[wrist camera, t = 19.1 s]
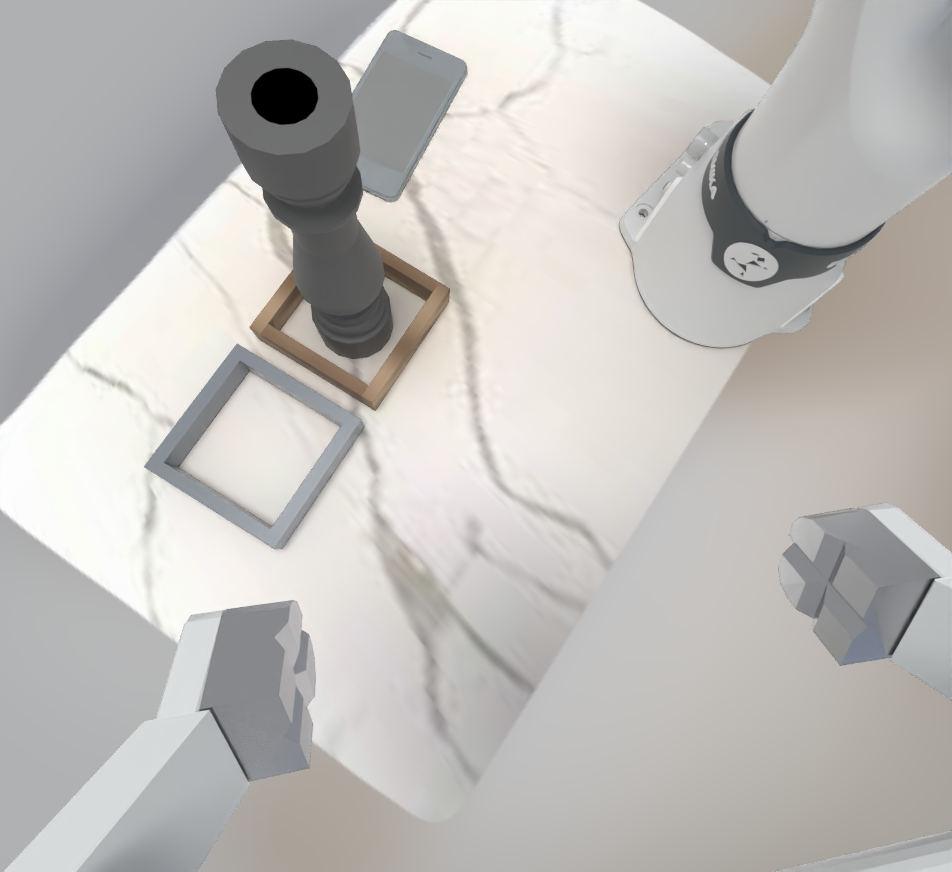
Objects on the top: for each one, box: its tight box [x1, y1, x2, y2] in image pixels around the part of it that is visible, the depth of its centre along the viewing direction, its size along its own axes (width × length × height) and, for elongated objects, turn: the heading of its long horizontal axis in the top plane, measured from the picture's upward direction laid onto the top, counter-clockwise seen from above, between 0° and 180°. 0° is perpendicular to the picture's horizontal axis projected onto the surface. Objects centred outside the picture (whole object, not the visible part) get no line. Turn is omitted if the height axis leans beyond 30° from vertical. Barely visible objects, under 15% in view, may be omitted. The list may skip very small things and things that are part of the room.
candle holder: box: [216, 40, 393, 359], centre depth 37 cm, size 6×6×25 cm
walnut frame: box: [250, 243, 450, 410], centre depth 48 cm, size 11×11×2 cm
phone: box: [352, 30, 467, 202], centre depth 53 cm, size 8×16×1 cm, turn 156°
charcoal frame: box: [144, 344, 364, 549], centre depth 45 cm, size 11×11×2 cm
